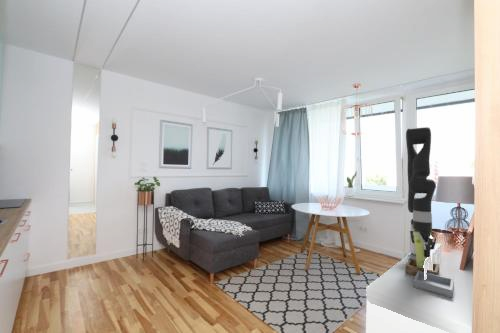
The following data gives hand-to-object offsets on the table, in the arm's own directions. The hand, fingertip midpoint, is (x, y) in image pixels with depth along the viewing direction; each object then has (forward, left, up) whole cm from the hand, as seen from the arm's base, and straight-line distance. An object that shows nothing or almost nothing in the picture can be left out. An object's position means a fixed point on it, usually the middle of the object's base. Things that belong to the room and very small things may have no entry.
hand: (422, 254), depth 115 cm
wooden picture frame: (0, 0, -9) cm, 9 cm away
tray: (+13, -6, -9) cm, 17 cm away
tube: (0, 0, -9) cm, 9 cm away
